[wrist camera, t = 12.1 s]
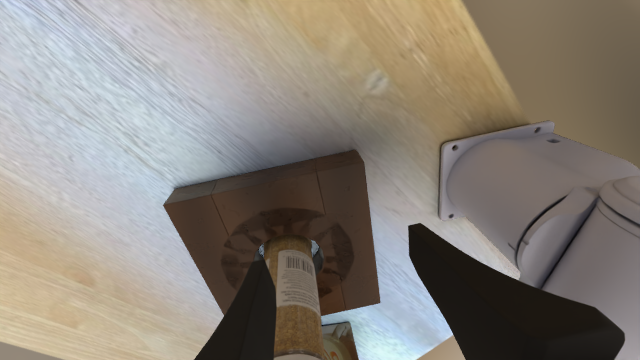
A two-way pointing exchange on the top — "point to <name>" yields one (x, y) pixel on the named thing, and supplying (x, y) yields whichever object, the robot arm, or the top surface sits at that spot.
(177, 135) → the top surface
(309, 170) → the holder
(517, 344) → the robot arm
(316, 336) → the sprinkles bottle
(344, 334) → the coffee box
